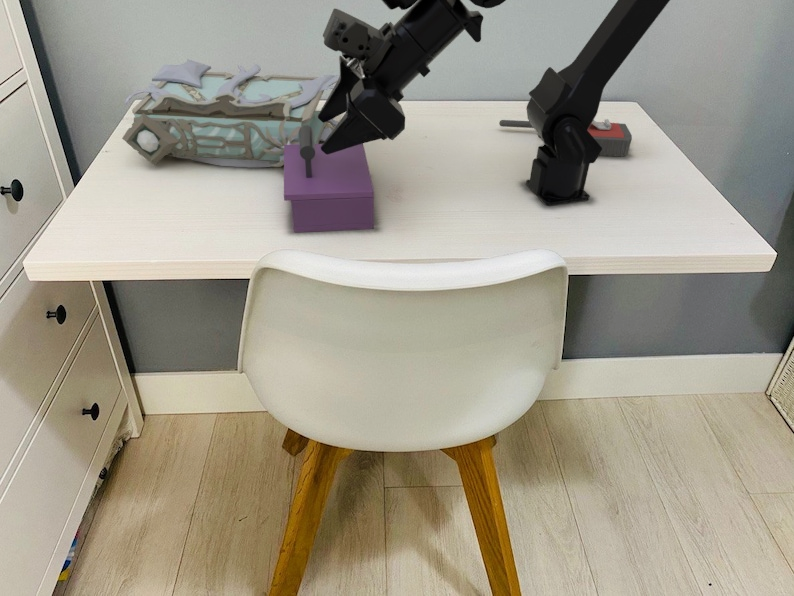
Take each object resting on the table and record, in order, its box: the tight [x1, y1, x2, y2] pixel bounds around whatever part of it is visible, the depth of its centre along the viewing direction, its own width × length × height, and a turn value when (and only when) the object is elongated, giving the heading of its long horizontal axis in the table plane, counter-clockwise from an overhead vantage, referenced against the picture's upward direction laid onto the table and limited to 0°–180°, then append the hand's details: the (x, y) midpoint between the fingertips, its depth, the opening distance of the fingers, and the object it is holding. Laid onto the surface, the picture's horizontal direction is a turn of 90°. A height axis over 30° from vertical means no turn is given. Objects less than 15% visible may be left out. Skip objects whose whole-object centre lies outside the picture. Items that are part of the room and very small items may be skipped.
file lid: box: [283, 125, 375, 202], centre depth 80 cm, size 10×14×5 cm
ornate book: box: [121, 58, 340, 168], centre depth 96 cm, size 23×10×30 cm
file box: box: [290, 196, 375, 233], centre depth 83 cm, size 10×14×4 cm
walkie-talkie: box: [498, 118, 633, 157], centre depth 100 cm, size 9×4×20 cm
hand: (321, 134), depth 79 cm, fingers open, 9 cm apart
